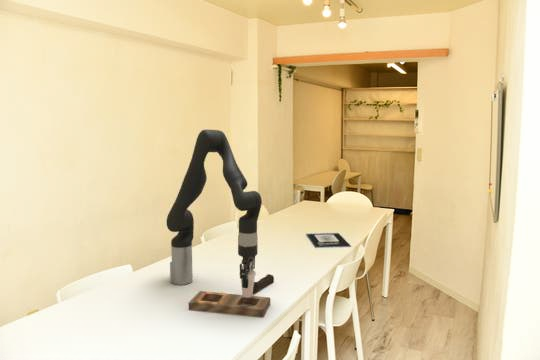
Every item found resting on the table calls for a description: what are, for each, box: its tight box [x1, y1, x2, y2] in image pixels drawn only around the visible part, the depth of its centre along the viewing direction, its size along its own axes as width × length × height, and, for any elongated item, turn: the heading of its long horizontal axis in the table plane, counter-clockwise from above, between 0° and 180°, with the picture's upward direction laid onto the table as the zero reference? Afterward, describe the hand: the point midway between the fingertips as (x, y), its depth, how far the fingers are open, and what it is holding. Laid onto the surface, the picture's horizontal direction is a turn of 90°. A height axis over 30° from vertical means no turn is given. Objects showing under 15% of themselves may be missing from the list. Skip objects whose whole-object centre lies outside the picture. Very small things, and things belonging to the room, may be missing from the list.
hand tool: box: [252, 273, 275, 296], centre depth 196 cm, size 19×4×5 cm, turn 149°
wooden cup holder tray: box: [188, 290, 271, 318], centre depth 176 cm, size 30×12×3 cm, turn 77°
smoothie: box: [239, 269, 257, 298], centre depth 173 cm, size 6×6×14 cm
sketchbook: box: [305, 232, 352, 249], centre depth 275 cm, size 22×30×2 cm
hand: (247, 284), depth 174 cm, fingers closed on smoothie, 6 cm apart
